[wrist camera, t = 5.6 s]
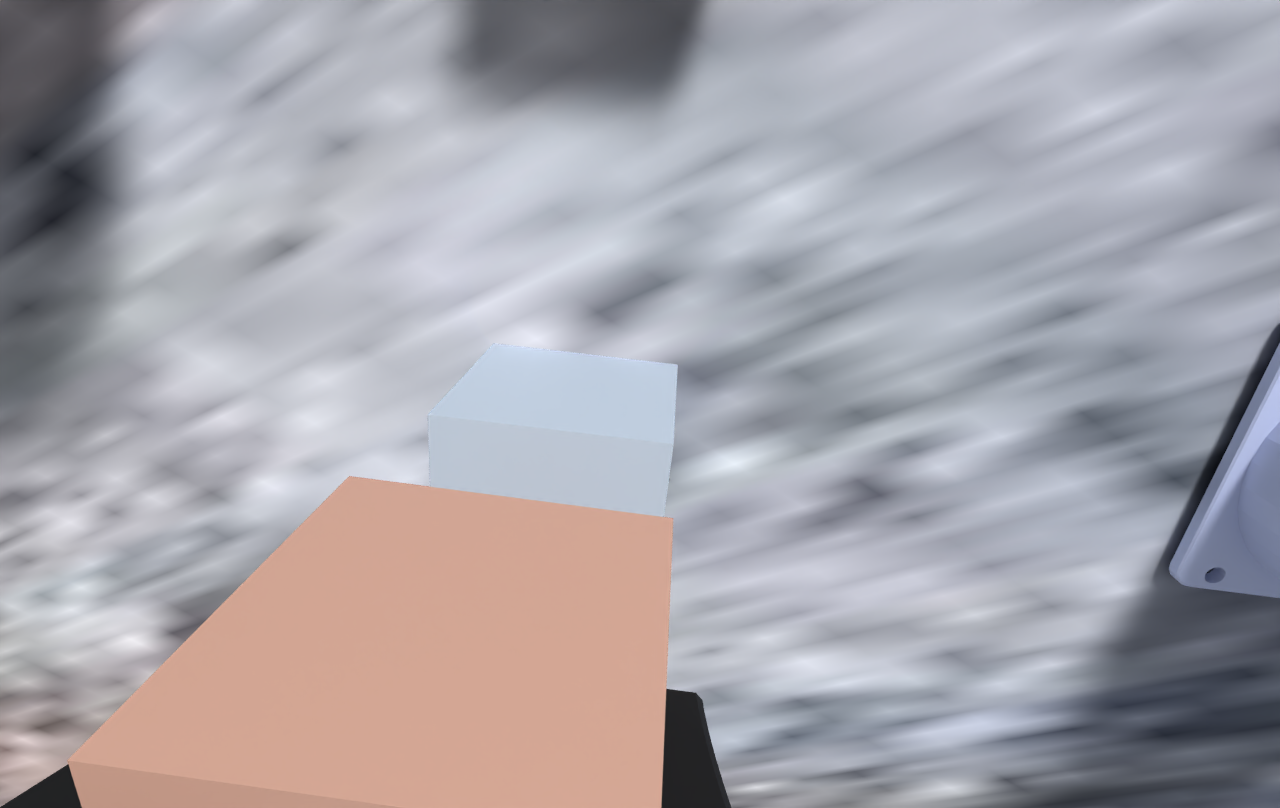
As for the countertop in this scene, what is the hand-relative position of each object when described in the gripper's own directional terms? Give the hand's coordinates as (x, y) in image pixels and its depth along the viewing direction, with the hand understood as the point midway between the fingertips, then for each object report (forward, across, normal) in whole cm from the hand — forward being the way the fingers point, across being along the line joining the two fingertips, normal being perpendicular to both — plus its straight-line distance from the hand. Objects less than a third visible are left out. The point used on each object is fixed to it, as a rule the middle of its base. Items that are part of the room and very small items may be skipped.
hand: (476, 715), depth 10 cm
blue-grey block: (+10, 0, 0) cm, 10 cm away
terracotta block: (+2, 0, 0) cm, 2 cm away
